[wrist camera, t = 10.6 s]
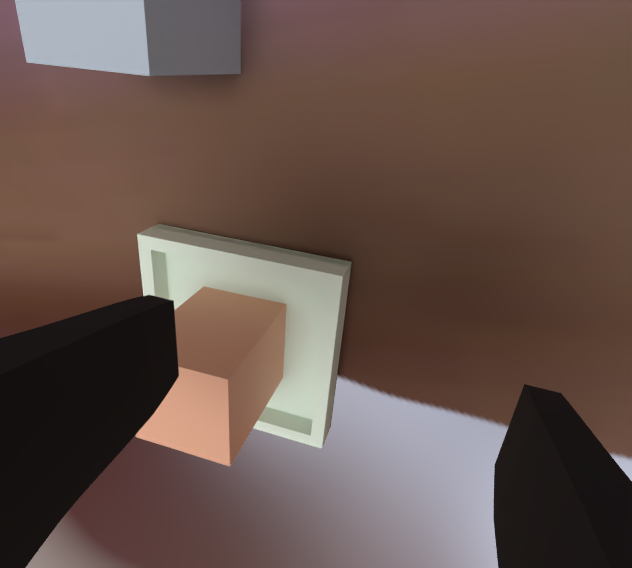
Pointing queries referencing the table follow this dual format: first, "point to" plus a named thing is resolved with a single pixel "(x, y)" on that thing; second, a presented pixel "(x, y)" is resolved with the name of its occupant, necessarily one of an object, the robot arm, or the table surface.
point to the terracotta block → (220, 373)
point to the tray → (270, 284)
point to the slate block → (134, 35)
